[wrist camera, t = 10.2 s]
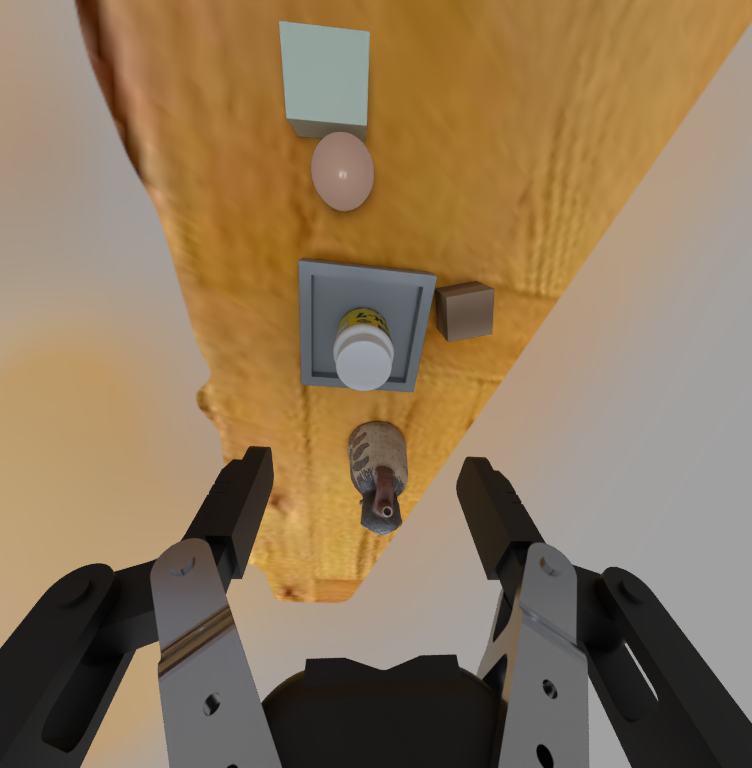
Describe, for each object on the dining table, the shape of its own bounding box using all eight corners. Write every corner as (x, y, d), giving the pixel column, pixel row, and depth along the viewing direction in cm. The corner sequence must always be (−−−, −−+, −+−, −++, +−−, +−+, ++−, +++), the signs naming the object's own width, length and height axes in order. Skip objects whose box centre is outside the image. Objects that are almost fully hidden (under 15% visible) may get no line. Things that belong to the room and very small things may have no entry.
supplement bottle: (397, 321, 27) (411, 357, 19) (371, 360, 28) (375, 406, 21) (353, 295, 25) (351, 322, 18) (329, 337, 27) (318, 378, 20)
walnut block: (434, 288, 27) (446, 297, 23) (476, 280, 26) (494, 288, 23) (437, 328, 28) (448, 341, 25) (475, 321, 28) (492, 334, 25)
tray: (303, 257, 24) (298, 260, 22) (430, 272, 26) (437, 275, 24) (305, 373, 30) (301, 384, 28) (409, 381, 31) (413, 392, 29)
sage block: (294, 59, 19) (279, 21, 15) (367, 67, 19) (369, 31, 16) (298, 136, 21) (286, 118, 17) (365, 142, 21) (366, 125, 18)
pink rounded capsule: (307, 166, 21) (298, 151, 17) (354, 139, 21) (357, 117, 16) (332, 221, 23) (330, 220, 19) (375, 198, 23) (383, 192, 18)
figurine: (343, 458, 36) (336, 550, 26) (355, 415, 33) (353, 500, 23) (394, 466, 38) (408, 557, 27) (411, 425, 34) (434, 511, 24)
